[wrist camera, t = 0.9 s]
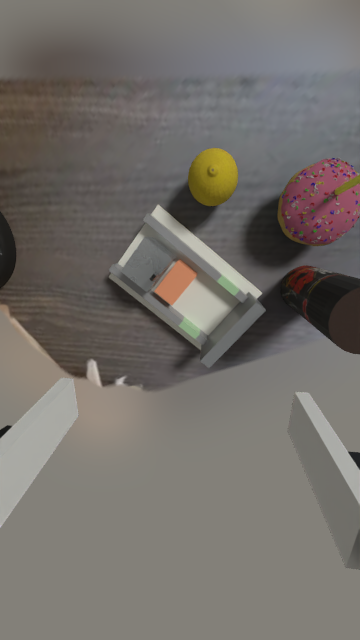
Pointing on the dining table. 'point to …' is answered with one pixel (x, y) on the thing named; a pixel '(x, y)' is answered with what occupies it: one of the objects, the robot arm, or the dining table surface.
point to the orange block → (176, 282)
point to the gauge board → (196, 290)
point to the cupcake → (320, 203)
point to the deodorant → (326, 303)
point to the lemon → (213, 177)
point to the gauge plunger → (148, 263)
